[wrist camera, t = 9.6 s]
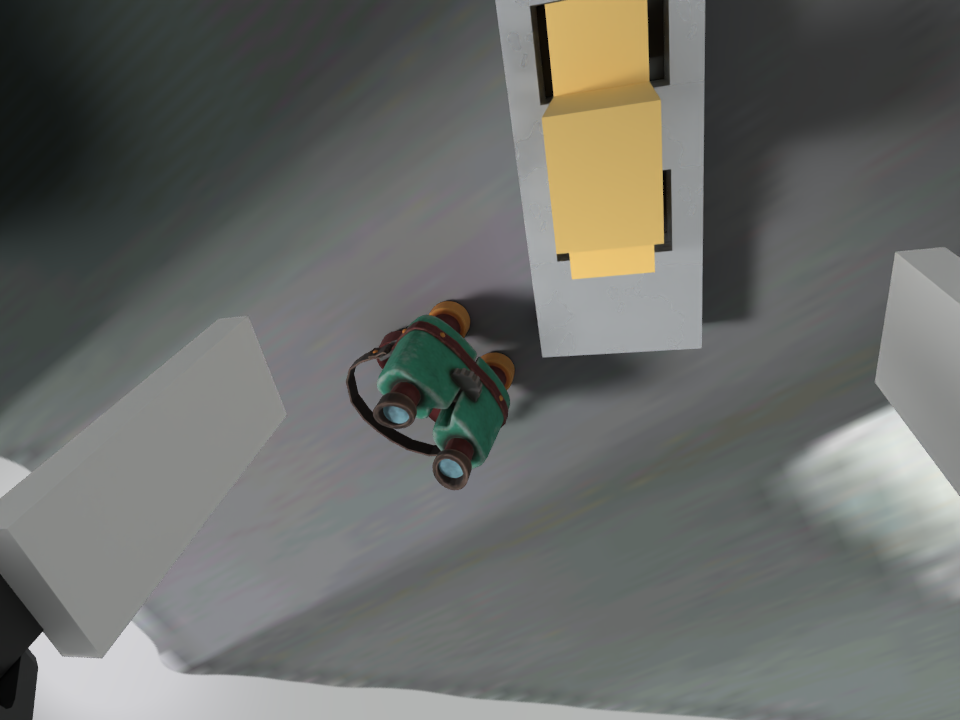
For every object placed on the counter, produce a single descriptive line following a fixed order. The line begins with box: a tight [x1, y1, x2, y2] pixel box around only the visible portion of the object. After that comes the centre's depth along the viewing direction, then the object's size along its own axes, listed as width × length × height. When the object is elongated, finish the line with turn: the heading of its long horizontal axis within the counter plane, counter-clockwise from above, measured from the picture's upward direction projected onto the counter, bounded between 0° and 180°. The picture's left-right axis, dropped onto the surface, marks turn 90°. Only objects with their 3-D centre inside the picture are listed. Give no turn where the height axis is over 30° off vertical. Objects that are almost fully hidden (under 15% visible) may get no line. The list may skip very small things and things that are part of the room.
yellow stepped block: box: [542, 0, 664, 279], centre depth 27 cm, size 12×4×12 cm, turn 10°
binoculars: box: [346, 301, 515, 490], centre depth 37 cm, size 9×11×10 cm
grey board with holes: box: [495, 0, 705, 357], centre depth 31 cm, size 9×24×3 cm, turn 10°
